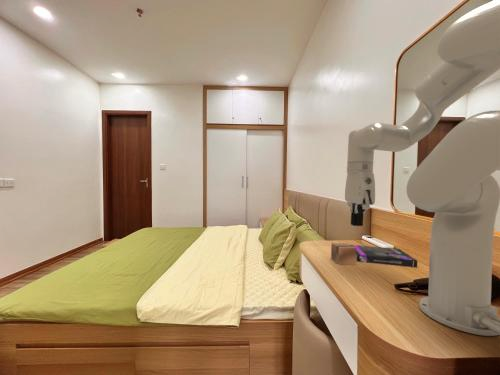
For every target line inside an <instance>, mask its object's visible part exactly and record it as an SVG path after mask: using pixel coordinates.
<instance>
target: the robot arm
mask: <svg viewBox="0 0 500 375" xmlns="http://www.w3.org/2000/svg"><path fill="white" fill-rule="evenodd" d="M436 48H437V50H436V51H437V55H438V57H439V58H440V60H442V62H441V63H440V64H439V65H438V66H436V68H434V69H433V70H432V71H431V72H430V73H429V74H428V75H426V77H425V78H423V79H422V80H420V82H419V83H418V84H417V85H416V87H414V88H415V89H414V94H415V96H416V98H417V100H418V102H419V105H418V107H417V109H416V111H415V112H414V113H413V114H412V115H411V116H410V117H409V118H408V119H406V120H405V121H404V122H403V123H402V124H400V125H397V124H396V125H394V124H389V123H384V122H373V123H370V124H369V125H366V126H364V127H362V128H357V129H354V130H352V131H350V132H349V134H348V140H347V141H348V144H347V161H346V164H347V165H346V174H347V175H346V182H345V189H344V200H345V202H346V203H347V206H349V208H350V225H351V226H353V227H363V225H364V214H365V212H366V210H370V208H371V207H370V206H372V205H374V204H375V202H376V179H375V174H374V160H375V159H374V156H375V155H374V154H375V151H381V152H382V151H384V152H392V153H397V152H402V151H405V150H406V149H409V148H410V147H412V146H413V145H415V144H416V143H418V142H419V141H421V140H422V139H424V138H425V137H426V136H427V135H428V134H430V133H431V132H432V131H433V130H434V128H435V127H436V125H438V123H439V121H440V119H441V118H442V117H443V116H442V115H443V114H444V112H445V111H446V110H447V109H448V108H449V107H450V106H452V105H453V104H454V103H456V102H458V100H460V99H461V98H463V97H464V96H465V95H466V94H468V93H469V92H471V91H472V90H473V89H475V88H476V87H477V86H478V85H480V84H481V83H483V82H484V81H485V80H487V79H488V78H490V77H491V76H492V75H494V74H495V73H497V72H498V71H499V70H500V0H492V1H490V2H488V3H485V4H483V5H480V6H478V7H477V8H474V9H473V10H470V11H469V12H467V13H465V14H464V15H462V16H460V17H459V18H458V19H457V20H455V21H453V23H452V24H450V26H449V27H448V28H447V29H446V30H445V31H444V33H443V34H442V35H441V36H440V39H439V41H438V44H437V47H436ZM496 171H500V110H488V111H487V110H486V111H482V112H479V113H476V114H474V115H471V116H469V117H467V118H466V119H464V120H462V121H461V122H459V123H458V124H456V125H455V126H454V127H453V128H452V129H450V130H449V132H448V133H447V134H446V135H445V136H444V137H443V138H442V139H441V140H440V141H439V143H437V145H436V146H435V147H434V148H433V149H432V150H431V151H430V152H429V154H428V155H427V156H426V157H425V158H424V159H423V160H422V161H421V163H419V165H418V166H417V167H416V169H414V171H413V172H412V173H411V175H410V176H409V179H408V180H407V184H406V195H407V197H408V200H409V201H410V203H411V204H412V205H413V206H414V207H416V208H418V209H420V210H423V211H426V212H430V213H434V216H433V218H432V222H431V226H430V238H429V240H430V241H429V242H430V243H429V268H428V270H429V271H428V294H427V295H428V296H425V297H422V298H420V299H419V300H418V301H419V302H418V306H419V308H420V311H422V312H423V313H424V314H425V315H426V316H427V317H429V318H431V319H433V320H434V321H436V322H438V323H440V324H441V325H444V326H447V327H449V328H451V329H455V330H457V331H461V332H464V333H469V334H472V335H476V336H477V335H478V336H484V337H491V336H493V337H494V336H498V335H499V336H500V317H499V316H498V308H497V307H496V306H494V305H492V304H491V303H492V302H491V301H492V300H491V299H492V281H493V280H492V279H493V278H492V277H493V276H492V275H493V251H494V250H493V249H494V234H495V233H494V232H495V225H496V224H495V223H496V219H497V218H496V217H497V214H498V209H499V206H500V184H499V183H498V181H497V180H496V179H495V177H494V176H493V174H494V173H495V172H496Z"/></svg>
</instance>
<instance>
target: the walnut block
mask: <svg viewBox="0 0 500 375" xmlns="http://www.w3.org/2000/svg"><path fill="white" fill-rule="evenodd" d="M351 245H352V244H349V243H347V242H346V243H344V242H343V243H342V242H341V243H340V242H339V243H334V242H331V250H330V251H331V252H330V254H331V255H330V259H332V261H333V262H334V261H335V262H334V263H336V264H337V265H338V266H356V264H357V263H356V262H357V261H356V247H353V246H351Z"/></svg>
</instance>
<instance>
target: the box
mask: <svg viewBox="0 0 500 375" xmlns="http://www.w3.org/2000/svg"><path fill="white" fill-rule="evenodd" d="M350 245H351V246H353V247H356V262H358V263H369V264H377V265H378V264H379V265H389V266H399V267H409V268H418V260H417V259H416V258H414V257H412V255H410V254H408V253H406V252H404V251H403V250H401V249H400V248H393V247H392V248H390V247H380V246H379V247H378V246H370V245H369V246H367V245H359V244H357V245H356V244H350Z"/></svg>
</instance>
